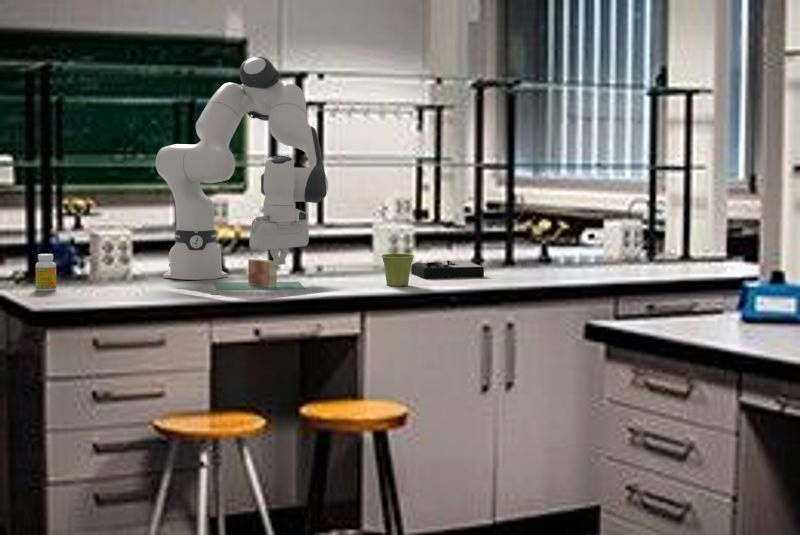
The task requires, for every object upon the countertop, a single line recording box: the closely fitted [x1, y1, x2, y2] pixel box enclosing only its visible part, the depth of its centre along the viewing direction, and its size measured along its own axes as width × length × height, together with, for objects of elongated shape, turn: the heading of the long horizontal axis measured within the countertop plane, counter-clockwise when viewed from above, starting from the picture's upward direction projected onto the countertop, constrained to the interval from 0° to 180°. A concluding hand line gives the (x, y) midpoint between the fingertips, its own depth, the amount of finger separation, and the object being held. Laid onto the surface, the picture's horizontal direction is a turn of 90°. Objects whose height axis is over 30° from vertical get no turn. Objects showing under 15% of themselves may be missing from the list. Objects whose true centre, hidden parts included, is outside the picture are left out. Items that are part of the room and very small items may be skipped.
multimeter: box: [410, 260, 485, 280], centre depth 395 cm, size 13×19×5 cm
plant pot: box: [380, 253, 415, 288], centre depth 370 cm, size 9×9×9 cm
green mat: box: [213, 281, 306, 296], centre depth 357 cm, size 16×24×1 cm, turn 101°
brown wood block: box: [247, 258, 278, 288], centre depth 357 cm, size 9×3×7 cm, turn 46°
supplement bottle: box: [35, 253, 57, 292], centre depth 351 cm, size 5×5×10 cm
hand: (279, 264), depth 361 cm, fingers closed
